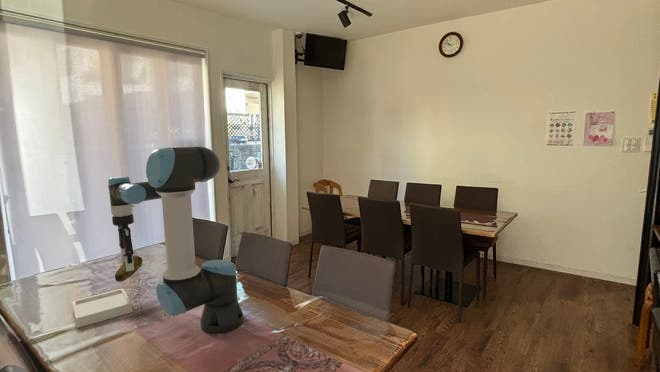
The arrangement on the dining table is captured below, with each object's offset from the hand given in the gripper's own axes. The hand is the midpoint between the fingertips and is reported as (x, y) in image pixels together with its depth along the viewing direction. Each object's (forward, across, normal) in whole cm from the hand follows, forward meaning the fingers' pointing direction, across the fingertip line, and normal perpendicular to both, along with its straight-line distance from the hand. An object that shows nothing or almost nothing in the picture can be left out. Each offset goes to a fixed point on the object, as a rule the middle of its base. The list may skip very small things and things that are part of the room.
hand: (128, 266), depth 150 cm
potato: (+5, 0, 0) cm, 5 cm away
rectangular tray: (+15, -3, +11) cm, 18 cm away
